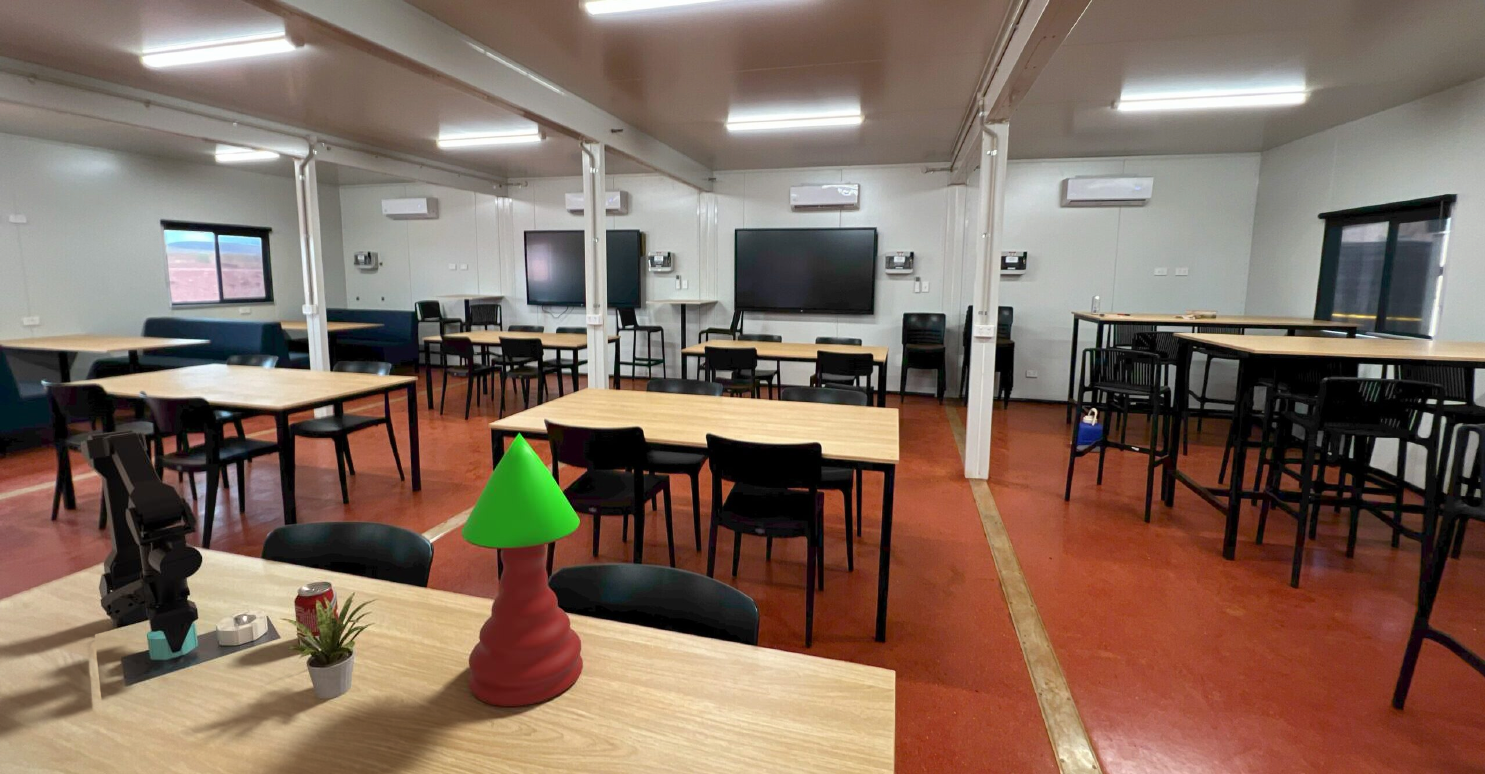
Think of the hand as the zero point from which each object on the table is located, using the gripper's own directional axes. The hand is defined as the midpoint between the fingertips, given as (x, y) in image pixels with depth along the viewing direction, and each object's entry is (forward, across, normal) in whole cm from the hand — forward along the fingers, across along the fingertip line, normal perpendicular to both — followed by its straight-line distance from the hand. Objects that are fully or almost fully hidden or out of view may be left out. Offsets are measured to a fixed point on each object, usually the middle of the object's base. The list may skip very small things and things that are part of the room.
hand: (173, 644), depth 119 cm
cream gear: (+2, 0, +10) cm, 10 cm away
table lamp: (+4, +48, +44) cm, 65 cm away
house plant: (+4, +30, +19) cm, 36 cm away
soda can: (+4, +12, +20) cm, 24 cm away
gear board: (+4, 0, +4) cm, 5 cm away
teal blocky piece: (+1, 0, 0) cm, 1 cm away
